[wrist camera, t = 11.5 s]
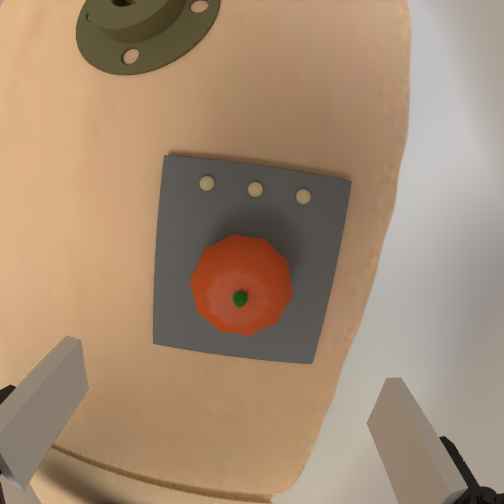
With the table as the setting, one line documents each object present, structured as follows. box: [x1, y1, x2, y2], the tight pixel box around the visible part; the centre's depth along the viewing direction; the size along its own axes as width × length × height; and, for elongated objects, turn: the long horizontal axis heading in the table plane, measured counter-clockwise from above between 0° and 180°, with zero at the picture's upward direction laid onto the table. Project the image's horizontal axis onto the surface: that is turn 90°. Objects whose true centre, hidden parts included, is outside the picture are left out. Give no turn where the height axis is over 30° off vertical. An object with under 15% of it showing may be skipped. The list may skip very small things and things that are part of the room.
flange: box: [76, 0, 220, 75], centre depth 21 cm, size 5×15×15 cm
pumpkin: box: [190, 234, 293, 336], centre depth 24 cm, size 8×8×7 cm
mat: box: [153, 155, 351, 364], centre depth 28 cm, size 18×16×1 cm
